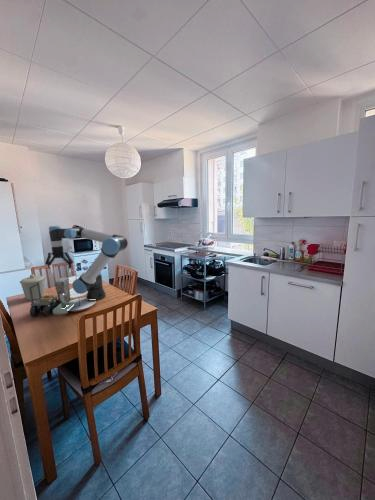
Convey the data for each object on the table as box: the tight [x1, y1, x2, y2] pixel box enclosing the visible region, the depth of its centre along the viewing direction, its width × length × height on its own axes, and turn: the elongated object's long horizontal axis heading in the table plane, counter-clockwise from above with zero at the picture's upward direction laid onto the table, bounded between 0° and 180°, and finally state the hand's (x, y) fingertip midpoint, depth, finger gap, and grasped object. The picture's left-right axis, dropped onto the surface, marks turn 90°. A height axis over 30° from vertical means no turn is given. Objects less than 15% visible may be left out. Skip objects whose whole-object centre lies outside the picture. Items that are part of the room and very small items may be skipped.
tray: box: [52, 301, 75, 316], centre depth 158 cm, size 9×13×4 cm
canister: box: [19, 274, 46, 301], centre depth 183 cm, size 18×18×21 cm
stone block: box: [54, 277, 71, 305], centre depth 170 cm, size 13×7×20 cm, turn 18°
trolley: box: [29, 283, 59, 317], centre depth 154 cm, size 12×16×22 cm
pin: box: [59, 293, 66, 308], centre depth 157 cm, size 3×3×12 cm
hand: (60, 272), depth 167 cm, fingers open, 13 cm apart
